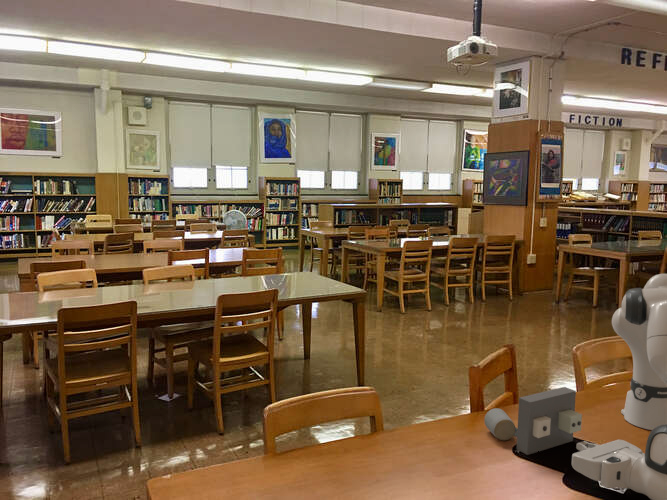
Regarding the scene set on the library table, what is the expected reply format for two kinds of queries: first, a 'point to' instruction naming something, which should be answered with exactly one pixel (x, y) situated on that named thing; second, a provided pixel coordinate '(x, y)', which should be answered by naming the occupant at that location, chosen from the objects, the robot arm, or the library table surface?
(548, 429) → the one dot button
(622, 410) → the robot arm
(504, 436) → the ceramic mug
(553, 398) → the button panel
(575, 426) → the two dot button
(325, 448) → the library table surface
